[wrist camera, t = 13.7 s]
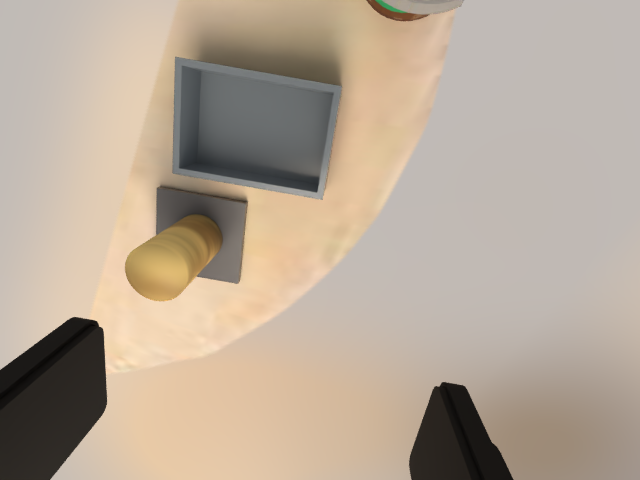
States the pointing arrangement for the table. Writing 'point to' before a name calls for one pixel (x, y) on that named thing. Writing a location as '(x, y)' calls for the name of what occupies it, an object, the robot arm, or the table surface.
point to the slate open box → (253, 128)
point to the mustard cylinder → (173, 257)
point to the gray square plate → (222, 212)
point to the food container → (412, 8)
